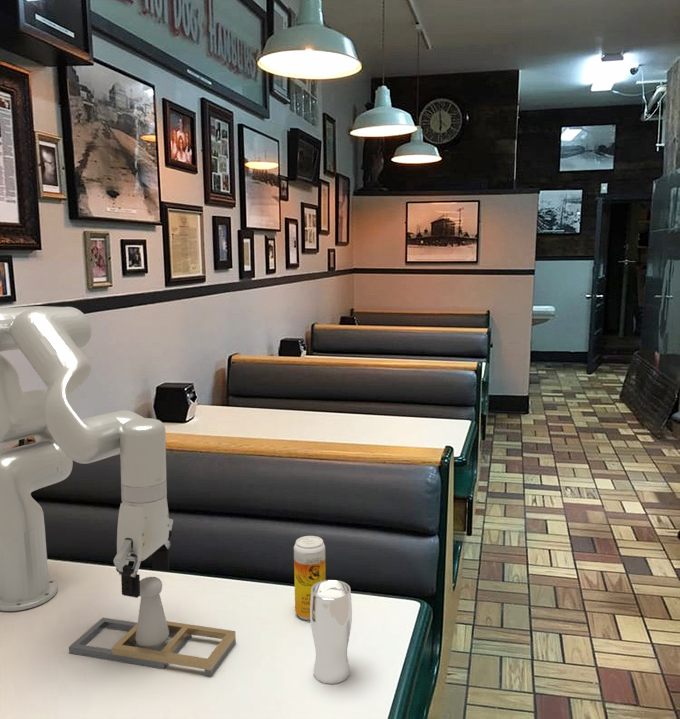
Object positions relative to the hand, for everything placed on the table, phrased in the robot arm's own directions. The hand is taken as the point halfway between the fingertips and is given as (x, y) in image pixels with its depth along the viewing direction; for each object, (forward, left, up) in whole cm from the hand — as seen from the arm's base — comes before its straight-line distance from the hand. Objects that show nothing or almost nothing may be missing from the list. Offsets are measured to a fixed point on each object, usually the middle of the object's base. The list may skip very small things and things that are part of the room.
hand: (146, 581), depth 114 cm
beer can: (+25, +18, -13) cm, 33 cm away
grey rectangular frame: (-4, 0, -12) cm, 13 cm away
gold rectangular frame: (+5, 0, -13) cm, 14 cm away
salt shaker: (+1, 0, -13) cm, 13 cm away
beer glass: (+34, +1, -13) cm, 36 cm away
